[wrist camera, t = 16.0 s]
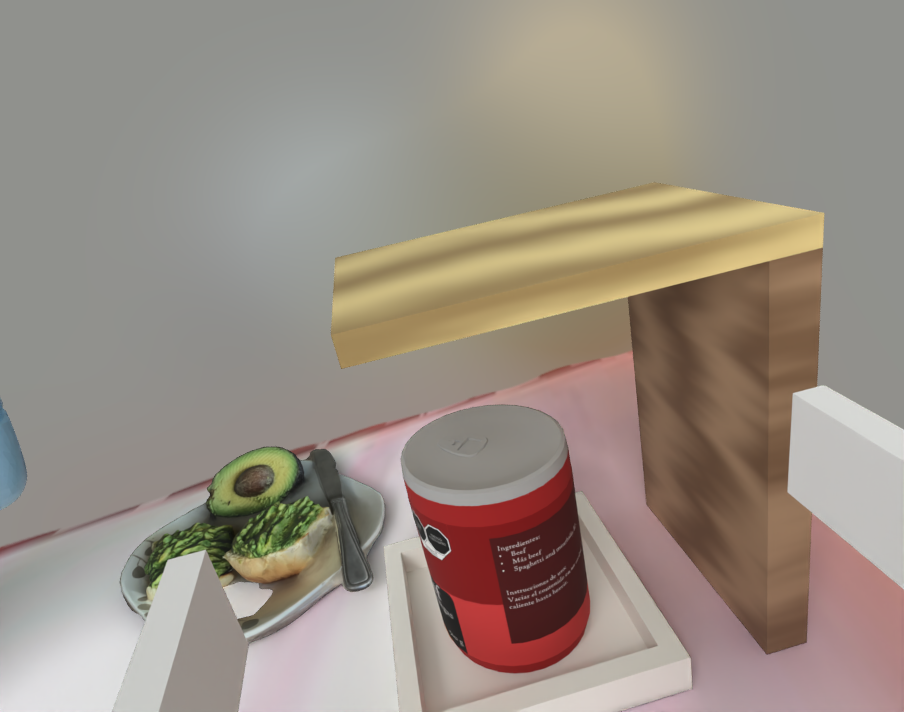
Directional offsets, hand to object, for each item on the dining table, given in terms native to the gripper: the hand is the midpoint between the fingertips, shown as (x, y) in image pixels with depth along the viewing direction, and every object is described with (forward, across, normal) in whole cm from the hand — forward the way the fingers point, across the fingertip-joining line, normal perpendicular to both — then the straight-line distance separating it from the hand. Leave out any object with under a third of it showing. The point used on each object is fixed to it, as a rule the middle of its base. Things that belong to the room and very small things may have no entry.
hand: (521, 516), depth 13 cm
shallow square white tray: (+13, +1, -18) cm, 22 cm away
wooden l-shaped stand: (+13, +5, -18) cm, 23 cm away
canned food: (+13, +1, -18) cm, 22 cm away
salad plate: (+26, -14, -19) cm, 35 cm away
